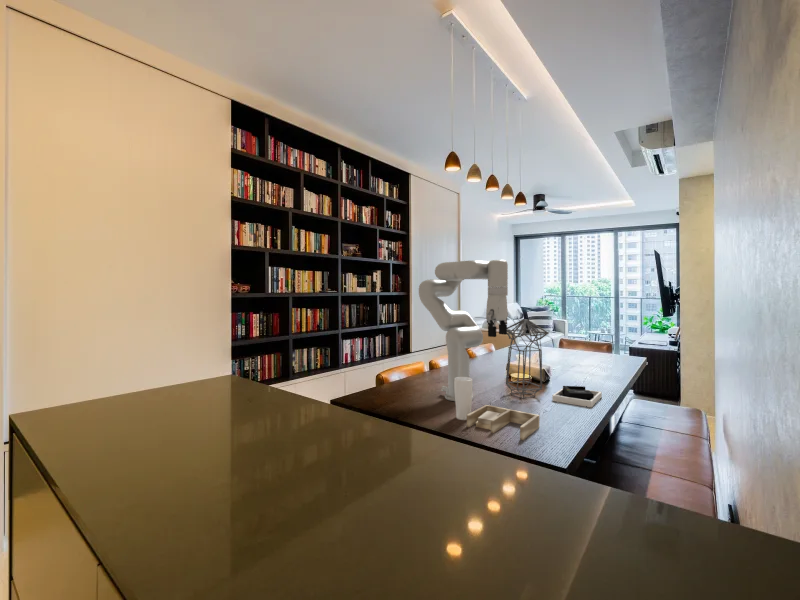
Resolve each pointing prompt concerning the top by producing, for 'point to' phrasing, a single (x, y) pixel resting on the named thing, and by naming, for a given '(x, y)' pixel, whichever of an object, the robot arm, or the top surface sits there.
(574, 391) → the battery charger
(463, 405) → the white vase
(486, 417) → the offcut top
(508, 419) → the rack
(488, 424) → the board
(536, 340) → the geometric lantern
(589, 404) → the charger tray
